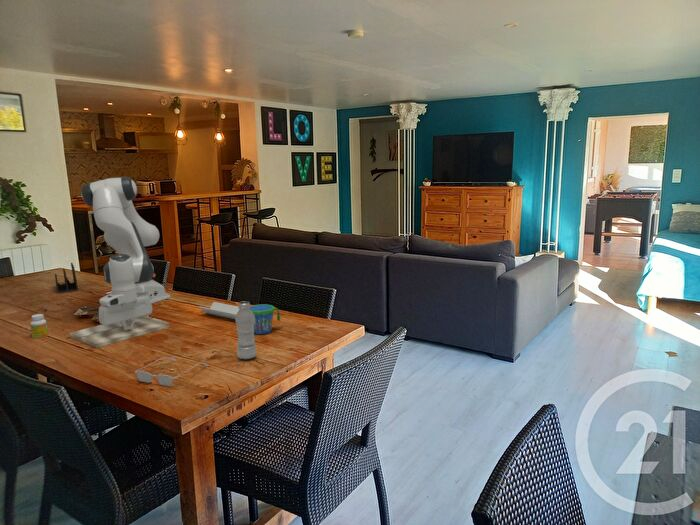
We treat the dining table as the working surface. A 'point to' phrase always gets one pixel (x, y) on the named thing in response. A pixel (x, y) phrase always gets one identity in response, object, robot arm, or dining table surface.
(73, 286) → the letter holder
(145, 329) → the loose plank
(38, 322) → the supplement bottle
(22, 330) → the dining table surface
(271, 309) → the snack cup
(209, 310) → the z bracket
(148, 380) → the eyeglasses
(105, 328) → the floor panel
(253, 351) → the plastic bottle
